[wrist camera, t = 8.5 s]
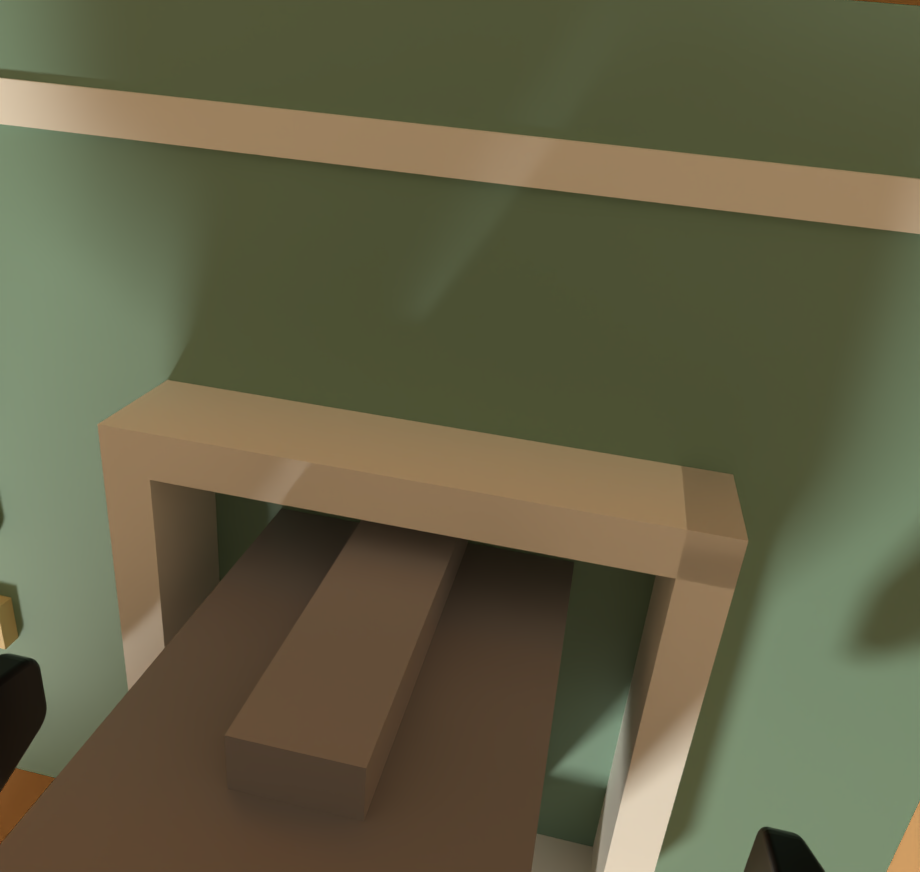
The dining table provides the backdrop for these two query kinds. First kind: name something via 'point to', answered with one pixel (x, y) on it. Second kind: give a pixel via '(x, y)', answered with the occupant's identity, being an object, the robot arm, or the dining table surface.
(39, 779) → the dining table surface
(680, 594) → the board
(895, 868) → the dining table surface
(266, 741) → the plug
